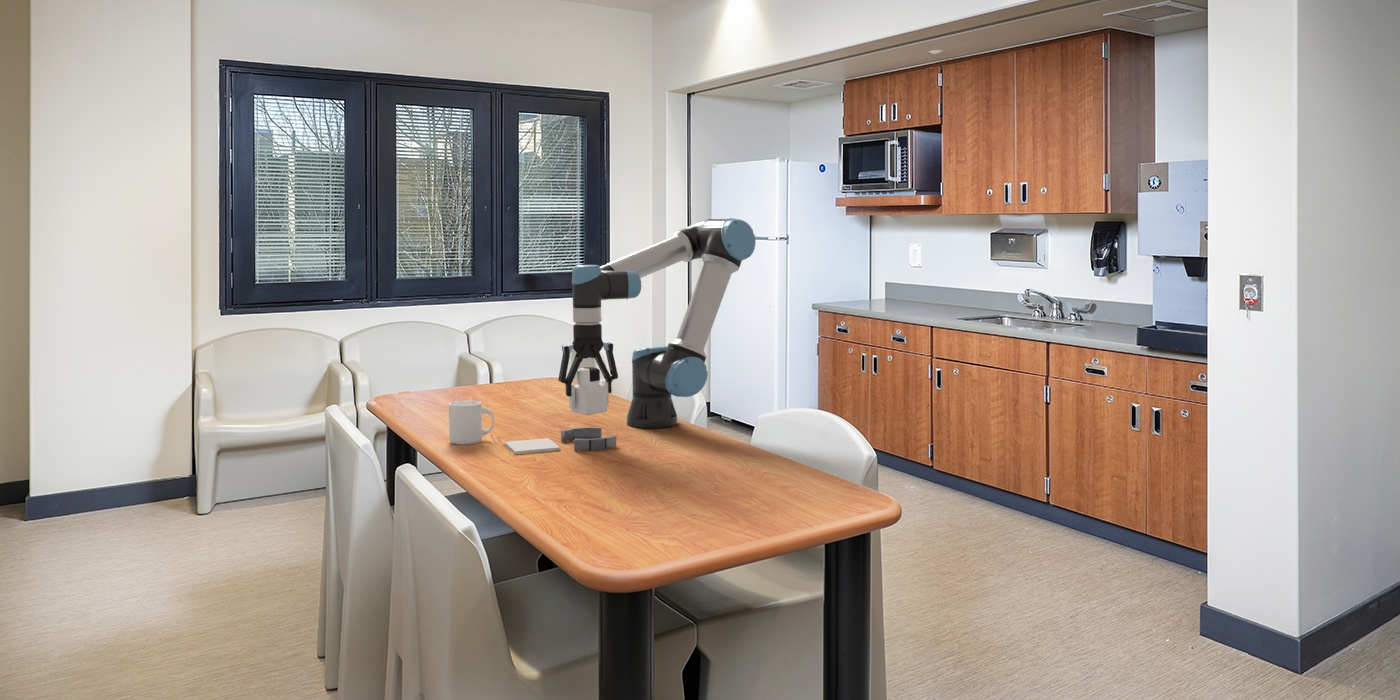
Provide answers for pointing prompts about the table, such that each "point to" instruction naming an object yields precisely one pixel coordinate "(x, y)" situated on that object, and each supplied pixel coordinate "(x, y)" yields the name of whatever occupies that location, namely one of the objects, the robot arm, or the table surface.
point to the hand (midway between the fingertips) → (589, 406)
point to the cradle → (588, 444)
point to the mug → (467, 422)
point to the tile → (532, 446)
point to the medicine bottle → (589, 392)
